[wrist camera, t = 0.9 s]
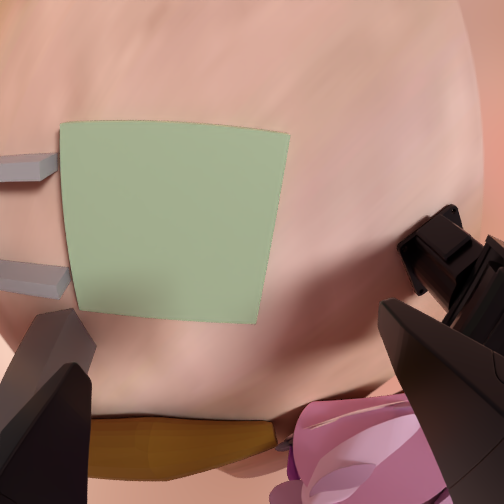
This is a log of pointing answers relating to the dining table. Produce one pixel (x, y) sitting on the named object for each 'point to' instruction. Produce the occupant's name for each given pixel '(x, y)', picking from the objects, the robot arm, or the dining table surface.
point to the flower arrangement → (360, 456)
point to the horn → (171, 446)
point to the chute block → (43, 358)
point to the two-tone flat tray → (159, 218)
